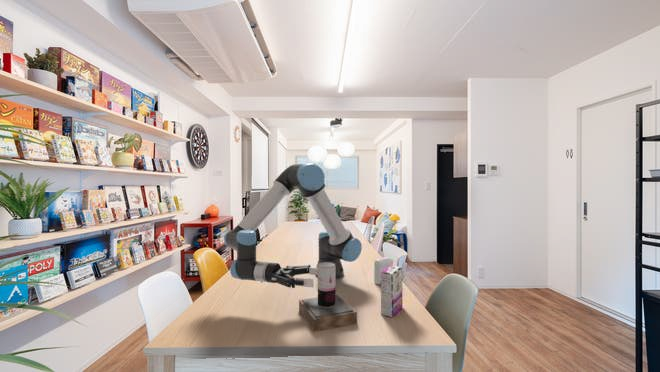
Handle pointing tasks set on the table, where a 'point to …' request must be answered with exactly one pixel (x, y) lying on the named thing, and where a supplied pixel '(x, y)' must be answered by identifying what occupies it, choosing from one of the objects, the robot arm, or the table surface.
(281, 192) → the robot arm
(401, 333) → the table surface
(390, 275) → the candy bar box
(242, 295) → the table surface
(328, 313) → the walnut stand
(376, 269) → the photo printer
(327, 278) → the beverage can
